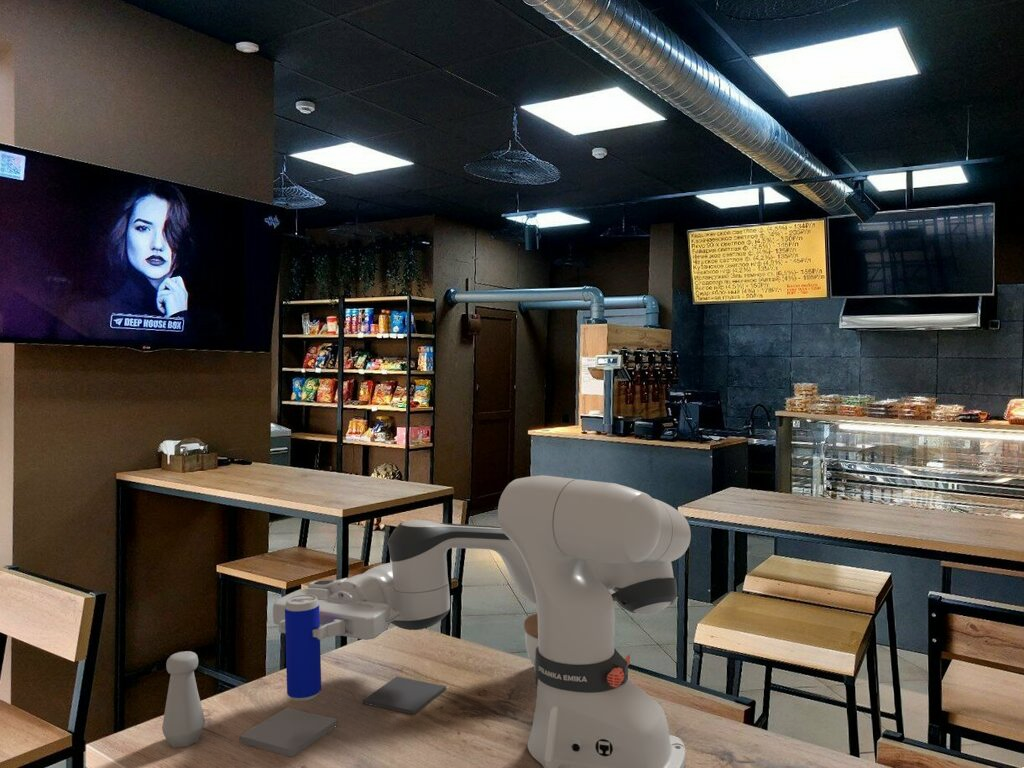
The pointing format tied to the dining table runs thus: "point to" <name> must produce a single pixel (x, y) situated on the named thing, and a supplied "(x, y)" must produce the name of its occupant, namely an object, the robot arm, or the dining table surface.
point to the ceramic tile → (288, 731)
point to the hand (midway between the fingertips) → (298, 631)
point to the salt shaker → (182, 701)
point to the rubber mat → (405, 695)
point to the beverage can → (302, 648)
